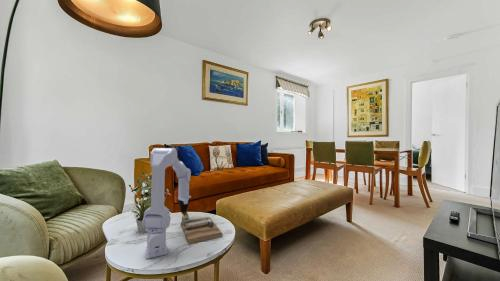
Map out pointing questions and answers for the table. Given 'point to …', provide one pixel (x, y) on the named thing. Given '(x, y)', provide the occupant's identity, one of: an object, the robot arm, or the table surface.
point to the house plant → (141, 215)
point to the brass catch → (185, 215)
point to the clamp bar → (198, 223)
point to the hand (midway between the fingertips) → (183, 213)
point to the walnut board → (200, 230)
